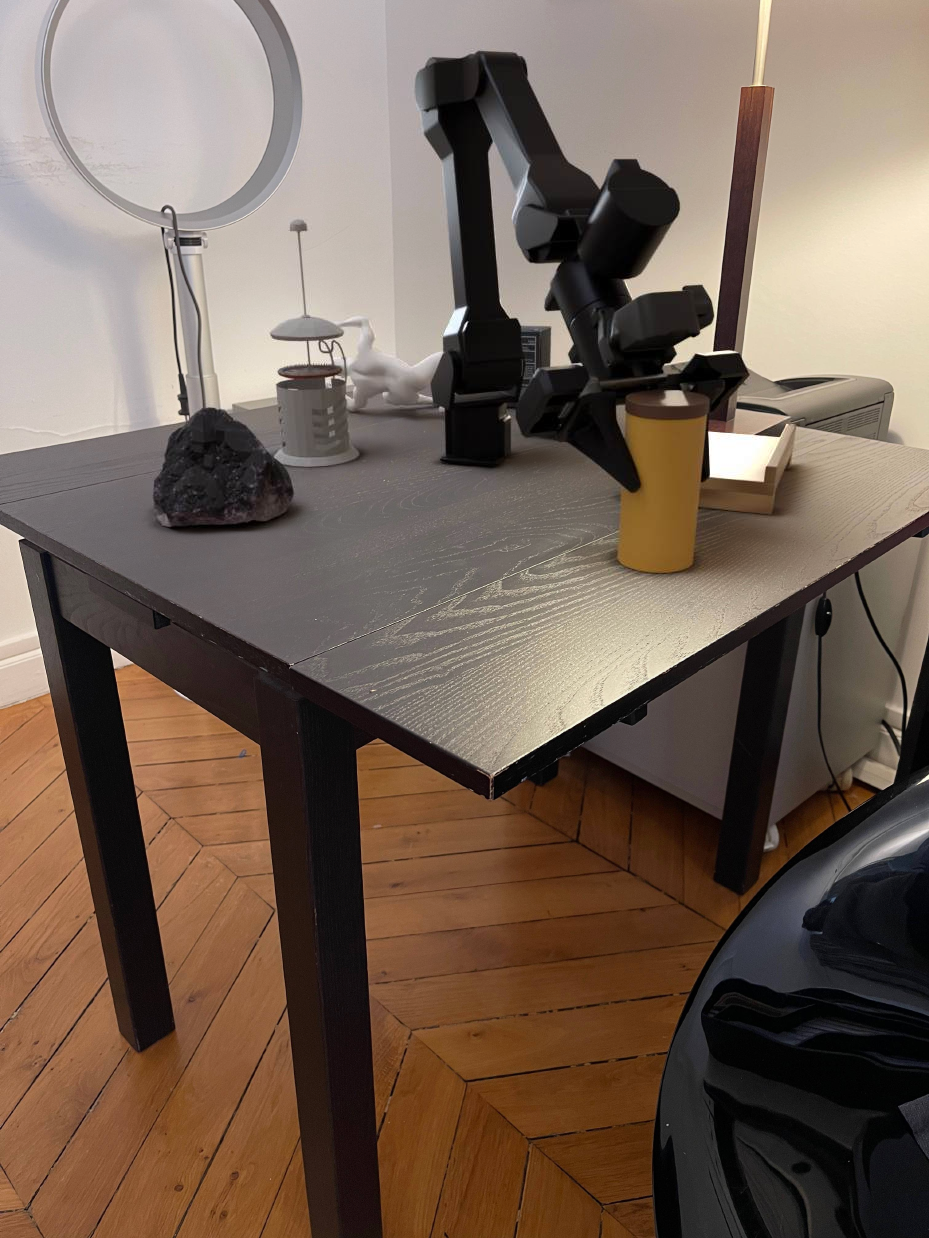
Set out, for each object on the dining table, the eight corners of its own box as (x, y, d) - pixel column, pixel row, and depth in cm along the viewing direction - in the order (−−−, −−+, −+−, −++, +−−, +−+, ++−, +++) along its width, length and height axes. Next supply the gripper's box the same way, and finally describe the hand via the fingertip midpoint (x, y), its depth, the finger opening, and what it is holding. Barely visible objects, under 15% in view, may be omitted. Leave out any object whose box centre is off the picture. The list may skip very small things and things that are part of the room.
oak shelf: (621, 498, 90) (623, 453, 88) (661, 454, 105) (664, 414, 103) (771, 515, 85) (777, 467, 83) (790, 465, 100) (796, 424, 98)
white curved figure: (459, 323, 128) (330, 305, 122) (484, 358, 119) (345, 340, 113) (439, 411, 135) (317, 398, 129) (462, 450, 126) (330, 438, 120)
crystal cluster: (243, 548, 81) (244, 434, 77) (114, 520, 85) (109, 410, 81) (317, 514, 93) (320, 414, 89) (200, 491, 96) (199, 394, 93)
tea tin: (609, 568, 73) (618, 403, 68) (623, 543, 79) (633, 388, 73) (689, 577, 72) (705, 408, 66) (698, 550, 77) (713, 392, 71)
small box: (551, 400, 133) (553, 324, 129) (540, 410, 128) (541, 330, 123) (481, 397, 136) (481, 322, 132) (467, 405, 131) (466, 328, 126)
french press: (256, 462, 104) (230, 220, 94) (309, 439, 114) (291, 217, 104) (333, 470, 101) (314, 220, 91) (381, 445, 111) (369, 217, 100)
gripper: (534, 252, 65) (610, 441, 61) (748, 243, 72) (830, 412, 67) (487, 352, 75) (549, 521, 71) (679, 336, 82) (747, 489, 77)
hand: (671, 485), depth 71 cm, fingers closed on tea tin, 6 cm apart
